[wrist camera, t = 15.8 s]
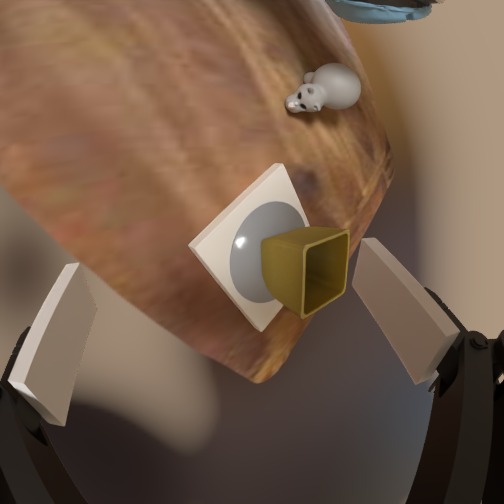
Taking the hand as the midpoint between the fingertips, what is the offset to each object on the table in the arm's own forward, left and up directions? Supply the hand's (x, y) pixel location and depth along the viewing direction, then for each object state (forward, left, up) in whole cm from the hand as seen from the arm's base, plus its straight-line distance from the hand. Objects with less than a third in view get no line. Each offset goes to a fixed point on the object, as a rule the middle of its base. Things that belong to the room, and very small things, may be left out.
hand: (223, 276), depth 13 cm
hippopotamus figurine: (-31, +2, -18) cm, 36 cm away
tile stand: (-12, +17, -18) cm, 27 cm away
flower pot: (-12, +17, -16) cm, 26 cm away
